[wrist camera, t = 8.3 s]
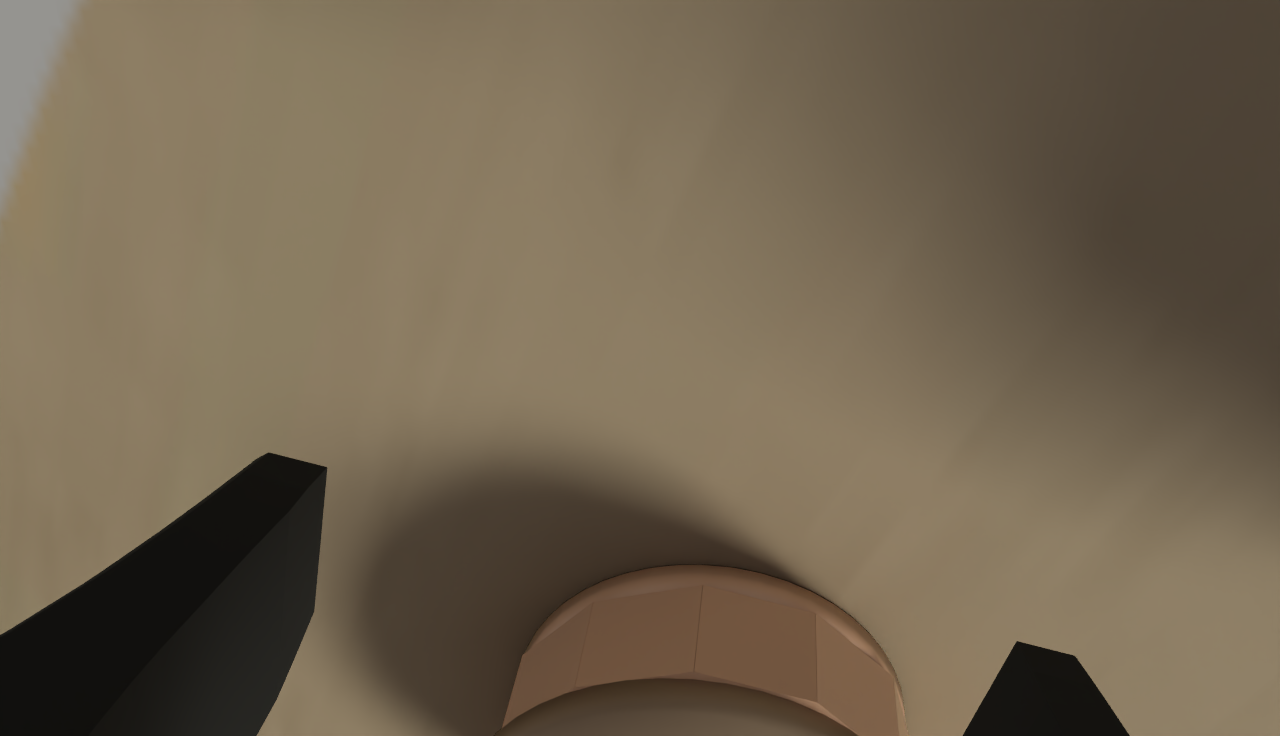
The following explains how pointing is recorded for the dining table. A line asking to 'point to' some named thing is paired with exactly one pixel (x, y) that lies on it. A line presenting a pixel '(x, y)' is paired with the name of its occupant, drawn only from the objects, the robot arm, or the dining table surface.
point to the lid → (671, 712)
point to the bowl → (714, 644)
